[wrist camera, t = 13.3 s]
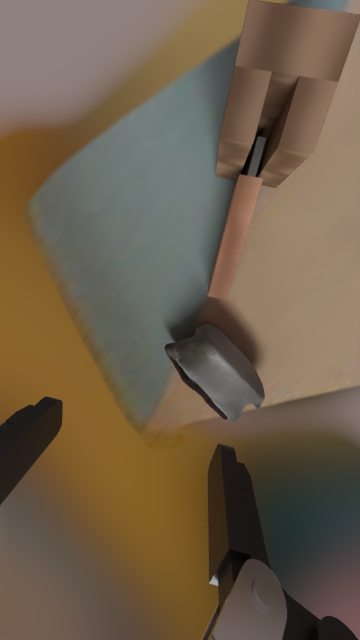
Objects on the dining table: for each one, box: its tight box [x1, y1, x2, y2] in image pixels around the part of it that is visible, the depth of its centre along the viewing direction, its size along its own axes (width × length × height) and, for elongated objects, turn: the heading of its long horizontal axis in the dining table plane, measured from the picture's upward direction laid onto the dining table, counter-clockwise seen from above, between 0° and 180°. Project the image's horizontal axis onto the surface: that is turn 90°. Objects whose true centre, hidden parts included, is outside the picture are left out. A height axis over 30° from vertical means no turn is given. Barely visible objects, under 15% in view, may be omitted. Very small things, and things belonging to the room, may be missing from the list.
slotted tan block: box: [216, 0, 360, 188], centre depth 23 cm, size 9×9×11 cm
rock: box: [165, 324, 265, 422], centre depth 36 cm, size 18×11×8 cm, turn 44°
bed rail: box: [208, 137, 266, 300], centre depth 29 cm, size 3×20×5 cm, turn 169°
